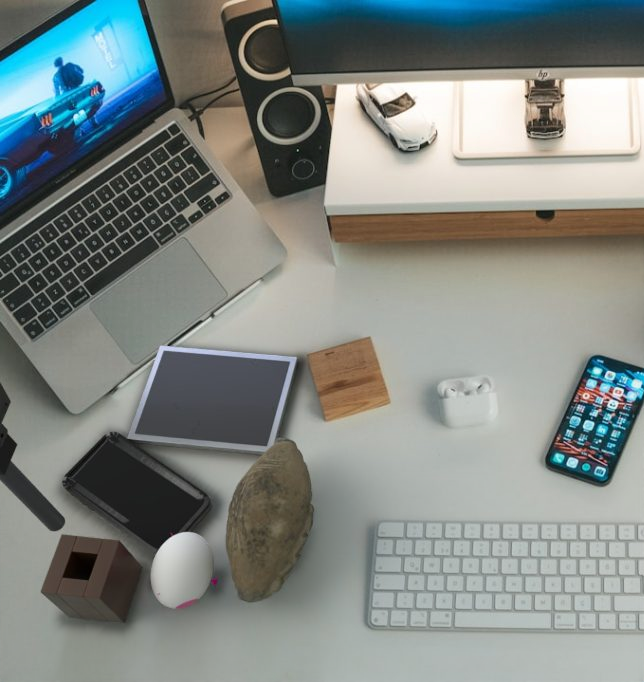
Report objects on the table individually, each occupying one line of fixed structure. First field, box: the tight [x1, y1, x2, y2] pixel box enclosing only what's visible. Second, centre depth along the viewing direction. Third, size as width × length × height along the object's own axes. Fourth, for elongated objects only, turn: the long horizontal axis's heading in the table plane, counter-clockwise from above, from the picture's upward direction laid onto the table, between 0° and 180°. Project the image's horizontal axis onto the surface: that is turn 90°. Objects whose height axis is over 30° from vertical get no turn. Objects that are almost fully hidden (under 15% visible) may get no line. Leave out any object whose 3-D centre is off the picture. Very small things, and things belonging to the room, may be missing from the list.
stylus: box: [0, 460, 66, 532], centre depth 88 cm, size 2×2×22 cm
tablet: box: [126, 345, 299, 456], centre depth 119 cm, size 16×12×1 cm
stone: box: [225, 437, 315, 604], centre depth 107 cm, size 17×9×8 cm, turn 179°
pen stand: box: [39, 533, 143, 624], centre depth 105 cm, size 6×6×7 cm
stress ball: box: [149, 531, 218, 610], centre depth 106 cm, size 8×8×7 cm
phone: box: [61, 431, 213, 557], centre depth 113 cm, size 8×1×15 cm
